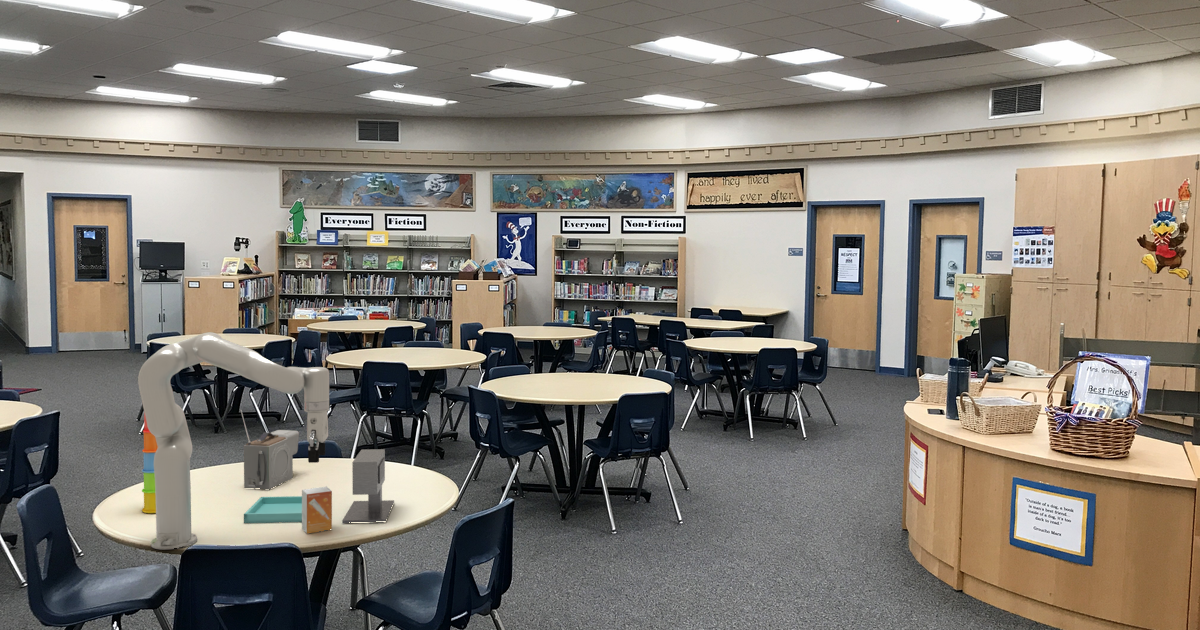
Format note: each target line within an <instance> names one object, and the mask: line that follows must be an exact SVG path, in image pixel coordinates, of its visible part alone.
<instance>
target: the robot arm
mask: <svg viewBox="0 0 1200 630" xmlns="http://www.w3.org/2000/svg"><path fill="white" fill-rule="evenodd" d="M203 362H204V363H207V364H209V365H211V366H215V367H217V368H221V369H223V370H225V371H228V372H231V373H234V374H236V375H239V376H242V377H243V378H245V379H248V380H251V381H253V382H255V383H258V384H260V385H262V386H265V387H267V388H270V389H273V390H275V391H279V392H281V393H284V394H287V395H294V394H295V395H296V394H297V393H299V392H301V391H302V389H303V390H304V392H303V394H304V405H303V406H304V408H303V409H304V412H306V413H307V418H306V420H307V421H306V438H307V443H308V450H307V458H308V459H307V460H308V463H309V464H311V463H312V464H313V463H319V462H320V456H325V455H326V441H327V439H328V437H329V421H328V420H329V419H328V412H329V411H330V370H329V369H328V368H327V367H322V366H315V367H314V366H312V367H311V366H310V367H300V366H299V367H298V366H287V367H285V366H284V365H280V364H278V363H275V362H273V361H271V360H269V359H267V358H266V357H264V356H262V355H261V354H260V353H259V352H257V351H255V350H253V349H252V348H249V347H246V346H243V345H240V344H238V343H236V342H233V341H230V340H228V339H226V338H222V336H221V335H219V334H218V333H216V332H212V331H210V332H203V333H200V334H198V335H195V336H192V337H189V338H186V339H183V340H180V341H176V342H173V343H170V344H167V345H165V346H163V347H161V348H160V349H158V350H157V351H156V352H155V353H153V354H152V355H151V356H150V357H148V359H147V360H146V361H145V362H143V364H142V365H141V367H140V370H139V372H138V375H137V376H138V378H137V380H138V381H137V383H138V388H139V389H138V390H139V393H140V399H141V402H142V408H143V411H144V413H145V416H146V421H147V426H148V429H149V431H150V432H151V433H152V434H153V435H154V436H155V438H156V442H157V446H158V449H157V450H156V453H155V456H154V473H155V495H156V513H155V525H156V528H155V530H156V531H155V532H156V535H155V536H156V537H155V538H153V539H152V540H151V541H150V546H151V548H153V549H156V550H161V551H162V550H164V551H167V550H175V549H174V548H177V549H180V548H179V547H182V546H186V547H189V546H192V545H194V544H195V543H196V542H197V541H198V535H197V534H195V533H192V491H191V488H192V487H191V484H192V483H191V456H192V455H193V442H192V439H191V435H190V431H189V427H188V422H187V419H186V416H185V412H184V410H183V409H182V407H181V406H180V405H179V404H177V403H176V401H175V396H174V392H173V391H174V390H173V388H172V384H171V379H172V378H173V376H175V375H176V374H178V373H179V372H180V371H181V370H183V369H187V368H189V367H192V366H195V365H198V364H201V363H203ZM191 544H192V545H191ZM188 545H189V546H188Z"/></svg>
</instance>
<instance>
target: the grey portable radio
mask: <svg viewBox="0 0 1200 630" xmlns="http://www.w3.org/2000/svg"><path fill="white" fill-rule="evenodd" d="M240 413H241V417H242V420H243V424H244V430H245V433H246V437H247V441H248V442H247V443H246V444H244V445H243V486H244V487H243V488H260V489H271V488H273V487H275V486H277V485H279V484H281V483H283V482H285V481H287V482H288V480H289V481H291V480H293V479H294V478H293V477H294V475H293V474H294V473H293V472H294V470H293V469H294V468H293V464H294V463H293V458H294V457H293V456H294V455H296V454H297V453H298V450H299V439H300V437H299V436H300V432H299V431H298V430H290V429H277V430H274V431H271V432H263V433H262V434H261V435H260V437H259V438H258V439H255V440H252V441H251V440H250V437H249V433H248V429H247V426H246V422H245V419H244V414H243V410H242V409H240ZM292 478H293V479H292ZM290 479H291V480H290ZM285 483H286V482H285ZM283 484H284V483H283ZM281 485H282V484H281ZM279 486H280V485H279ZM277 487H278V486H277ZM275 488H276V487H275ZM273 489H274V488H273ZM271 490H272V489H271Z"/></svg>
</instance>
